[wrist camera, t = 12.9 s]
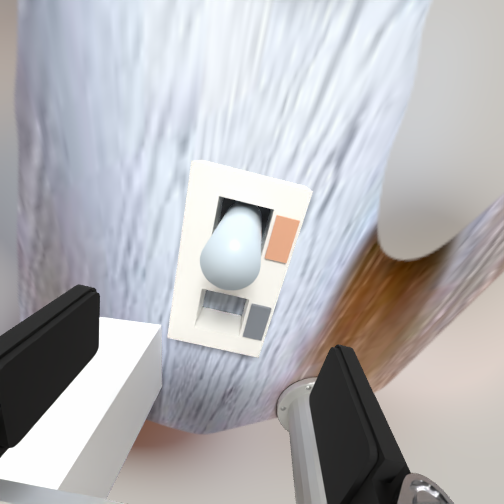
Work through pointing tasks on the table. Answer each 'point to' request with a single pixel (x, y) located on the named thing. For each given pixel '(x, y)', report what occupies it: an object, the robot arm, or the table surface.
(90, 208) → the table surface
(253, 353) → the socket block
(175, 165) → the table surface
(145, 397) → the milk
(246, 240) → the plug
